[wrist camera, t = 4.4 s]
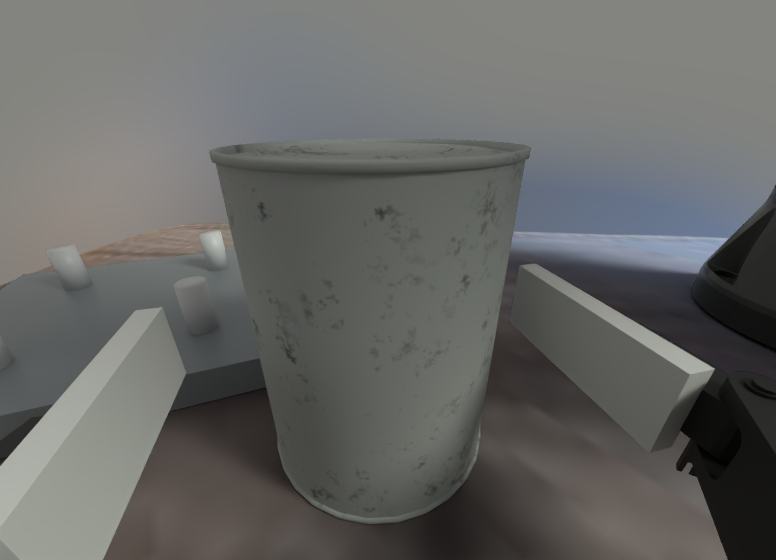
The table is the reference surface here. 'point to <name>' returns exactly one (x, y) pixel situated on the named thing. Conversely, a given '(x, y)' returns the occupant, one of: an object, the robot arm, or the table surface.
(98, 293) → the stub board
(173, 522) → the table surface
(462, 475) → the grey marbled cylinder
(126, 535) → the table surface
